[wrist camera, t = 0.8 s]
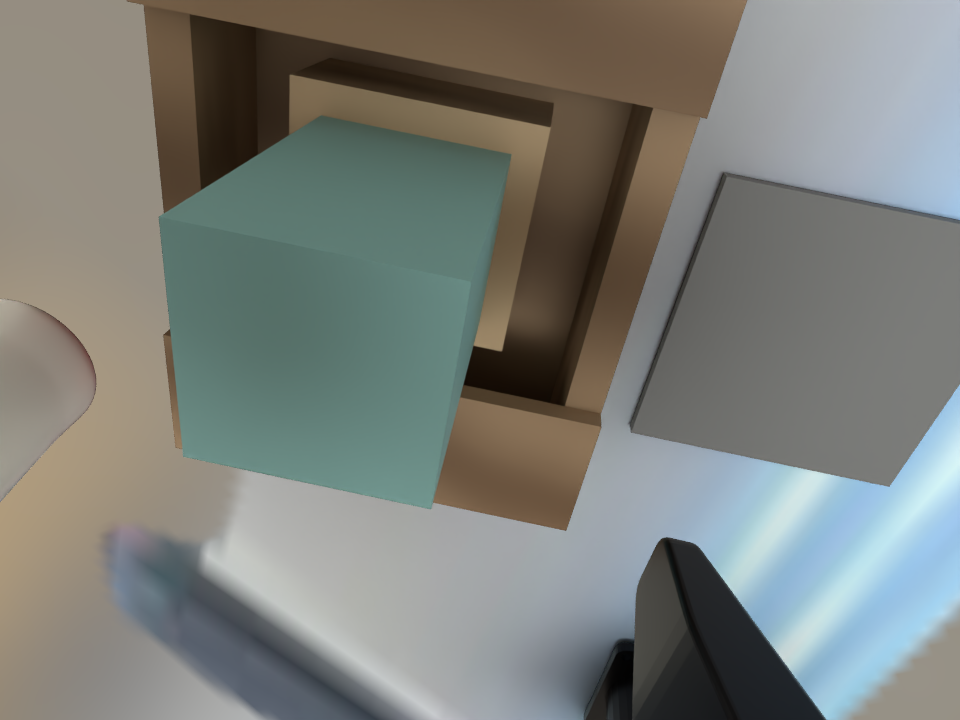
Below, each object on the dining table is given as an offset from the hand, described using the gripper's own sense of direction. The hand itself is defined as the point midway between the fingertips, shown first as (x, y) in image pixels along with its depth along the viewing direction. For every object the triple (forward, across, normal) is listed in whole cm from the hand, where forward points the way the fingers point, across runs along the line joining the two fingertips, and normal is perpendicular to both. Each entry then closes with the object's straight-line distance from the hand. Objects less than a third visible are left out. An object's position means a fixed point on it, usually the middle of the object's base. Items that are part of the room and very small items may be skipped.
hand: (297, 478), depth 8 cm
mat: (+13, -12, +3) cm, 18 cm away
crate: (+13, +1, 0) cm, 13 cm away
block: (+10, +1, 0) cm, 10 cm away
